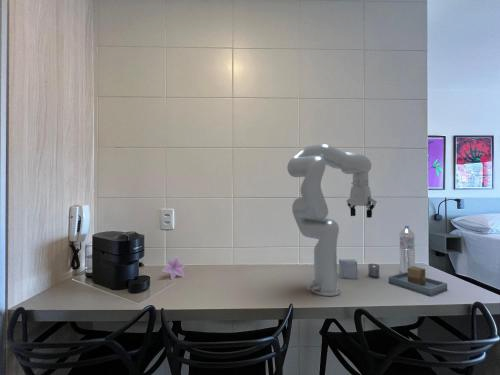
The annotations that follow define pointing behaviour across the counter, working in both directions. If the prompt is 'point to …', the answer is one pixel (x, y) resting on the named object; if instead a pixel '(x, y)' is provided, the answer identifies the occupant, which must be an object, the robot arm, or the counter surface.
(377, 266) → the metal cup
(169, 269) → the lily
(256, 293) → the counter surface
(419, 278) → the walnut block
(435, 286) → the tray
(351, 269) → the medicine box
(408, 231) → the water bottle
